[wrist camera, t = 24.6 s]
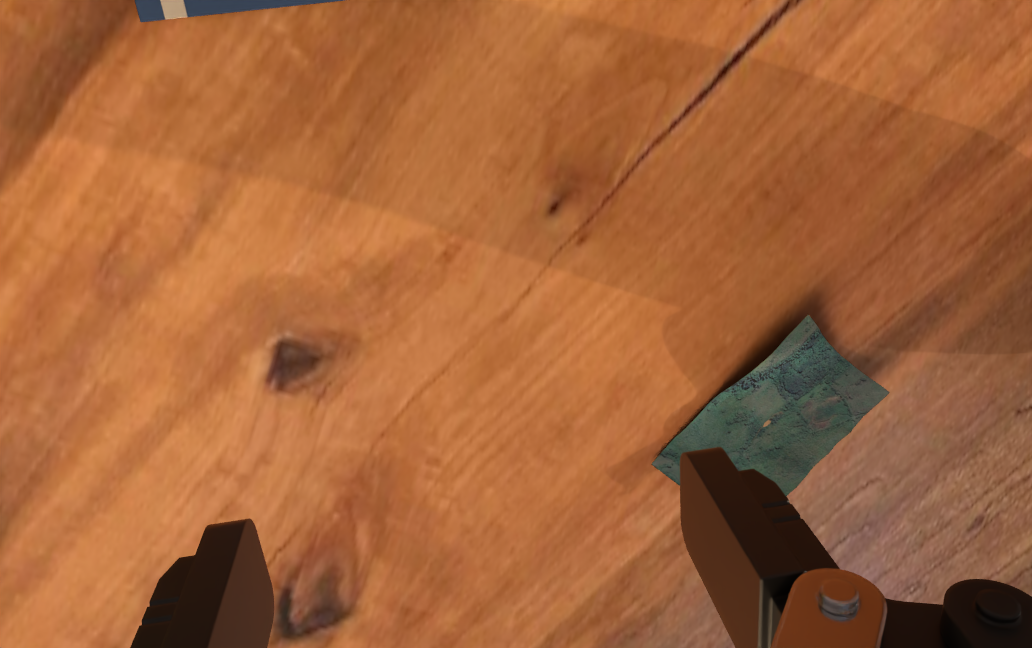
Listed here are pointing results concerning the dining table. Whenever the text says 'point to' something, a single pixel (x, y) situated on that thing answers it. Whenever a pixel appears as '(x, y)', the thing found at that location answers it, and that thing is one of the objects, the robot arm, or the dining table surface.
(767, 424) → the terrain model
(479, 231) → the dining table surface
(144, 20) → the cloth
